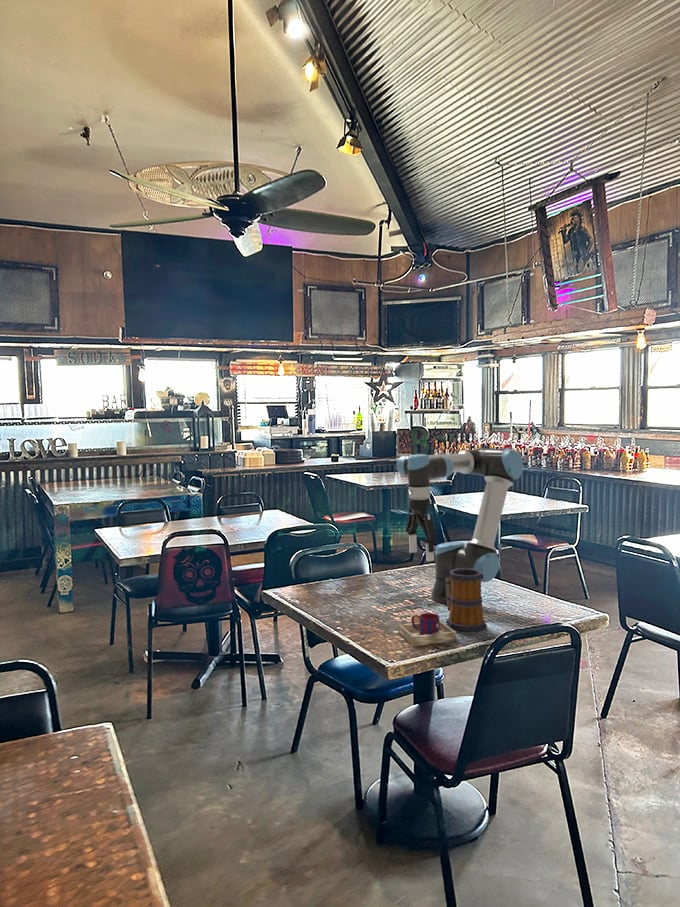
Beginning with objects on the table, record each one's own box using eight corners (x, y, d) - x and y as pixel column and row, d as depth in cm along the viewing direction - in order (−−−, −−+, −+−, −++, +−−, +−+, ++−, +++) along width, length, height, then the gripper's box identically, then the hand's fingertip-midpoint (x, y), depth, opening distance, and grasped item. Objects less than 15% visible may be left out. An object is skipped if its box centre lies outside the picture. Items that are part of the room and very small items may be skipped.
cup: (432, 640, 211) (432, 620, 211) (407, 634, 218) (407, 614, 217) (443, 635, 216) (443, 615, 216) (419, 628, 223) (419, 609, 222)
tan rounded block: (424, 620, 234) (424, 611, 233) (431, 626, 228) (431, 616, 227) (408, 622, 232) (407, 612, 232) (414, 628, 226) (414, 618, 225)
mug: (430, 620, 234) (430, 566, 233) (463, 614, 240) (463, 562, 238) (460, 636, 216) (460, 579, 215) (495, 630, 222) (495, 574, 221)
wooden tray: (439, 628, 225) (439, 620, 224) (456, 640, 213) (456, 631, 212) (398, 633, 220) (398, 625, 220) (413, 646, 208) (412, 637, 208)
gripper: (395, 494, 236) (397, 550, 238) (425, 504, 213) (428, 565, 215) (413, 492, 239) (415, 547, 241) (445, 501, 215) (447, 563, 217)
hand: (421, 556), depth 228 cm, fingers open, 13 cm apart
